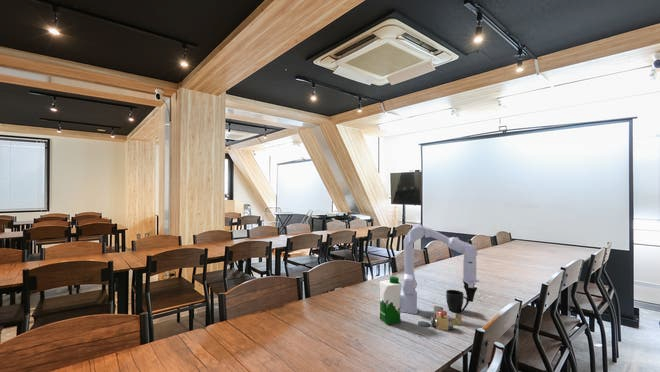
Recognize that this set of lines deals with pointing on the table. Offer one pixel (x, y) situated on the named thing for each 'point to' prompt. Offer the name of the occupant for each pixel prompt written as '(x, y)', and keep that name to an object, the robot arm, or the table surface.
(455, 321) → the elbow
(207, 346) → the table surface
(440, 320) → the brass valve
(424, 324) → the pad
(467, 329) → the table surface
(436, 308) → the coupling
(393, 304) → the milk carton
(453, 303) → the mug
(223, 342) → the table surface
